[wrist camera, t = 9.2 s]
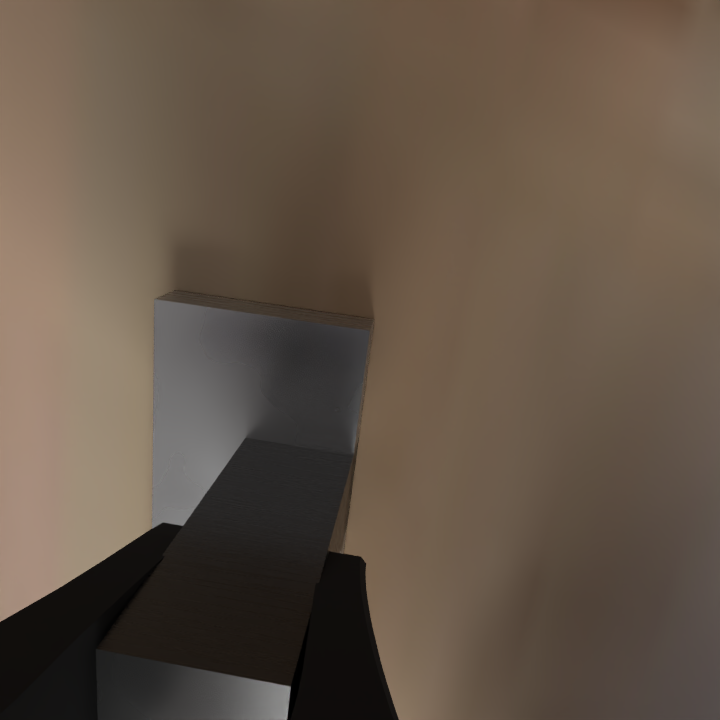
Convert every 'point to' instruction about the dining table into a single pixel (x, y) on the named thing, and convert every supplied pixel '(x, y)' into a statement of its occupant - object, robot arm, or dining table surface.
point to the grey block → (238, 507)
